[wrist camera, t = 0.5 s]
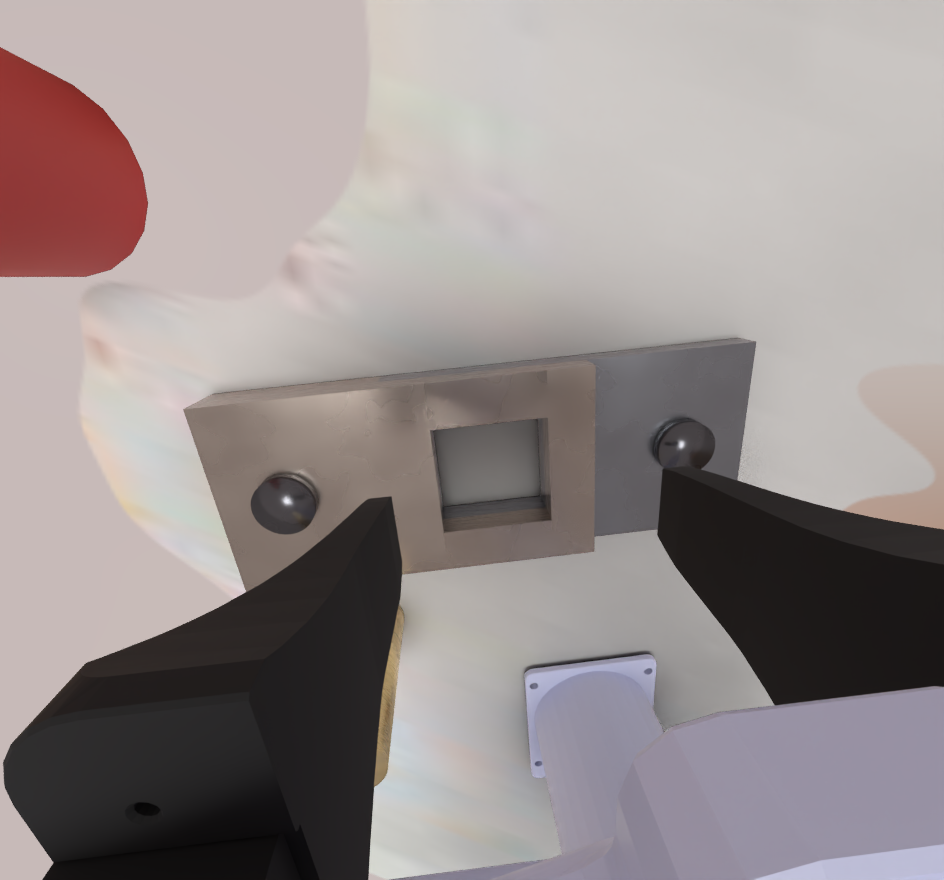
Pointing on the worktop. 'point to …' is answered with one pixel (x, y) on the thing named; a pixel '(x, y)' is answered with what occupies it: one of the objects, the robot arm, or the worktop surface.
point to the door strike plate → (459, 405)
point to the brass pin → (388, 700)
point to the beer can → (62, 179)
